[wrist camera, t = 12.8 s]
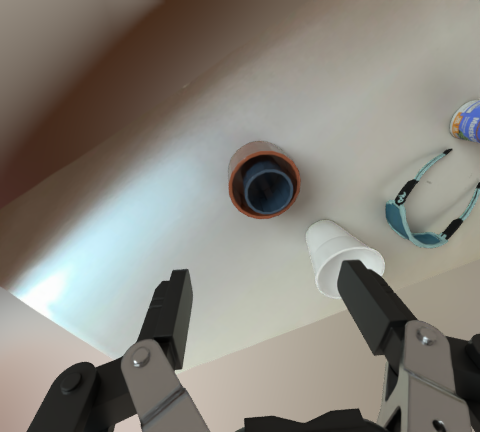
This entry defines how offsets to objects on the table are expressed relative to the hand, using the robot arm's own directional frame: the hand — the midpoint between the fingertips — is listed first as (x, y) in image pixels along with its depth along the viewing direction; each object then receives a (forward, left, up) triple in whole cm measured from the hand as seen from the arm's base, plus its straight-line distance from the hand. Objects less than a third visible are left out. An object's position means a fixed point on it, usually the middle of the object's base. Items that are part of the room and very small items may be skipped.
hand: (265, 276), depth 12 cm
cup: (+15, +15, -26) cm, 33 cm away
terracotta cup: (+3, +3, -25) cm, 26 cm away
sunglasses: (+9, +33, -26) cm, 43 cm away
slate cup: (+3, +3, -25) cm, 25 cm away
